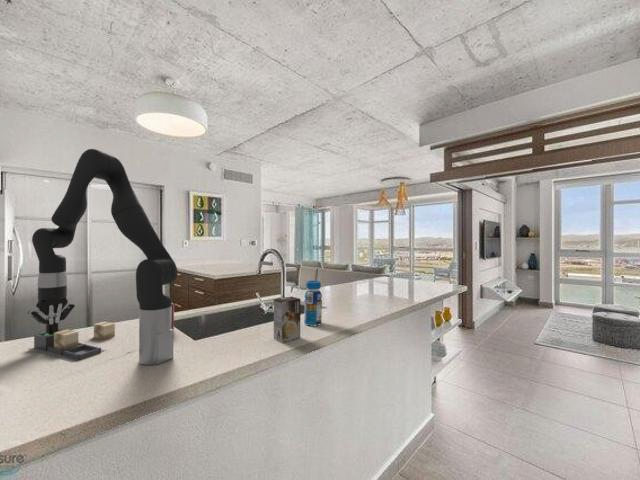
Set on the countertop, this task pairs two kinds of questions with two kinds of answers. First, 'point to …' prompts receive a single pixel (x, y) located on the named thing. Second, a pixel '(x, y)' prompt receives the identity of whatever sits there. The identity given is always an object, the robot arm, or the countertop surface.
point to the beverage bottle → (313, 303)
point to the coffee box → (286, 319)
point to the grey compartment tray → (71, 354)
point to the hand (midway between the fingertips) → (52, 333)
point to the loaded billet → (65, 339)
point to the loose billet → (104, 330)
